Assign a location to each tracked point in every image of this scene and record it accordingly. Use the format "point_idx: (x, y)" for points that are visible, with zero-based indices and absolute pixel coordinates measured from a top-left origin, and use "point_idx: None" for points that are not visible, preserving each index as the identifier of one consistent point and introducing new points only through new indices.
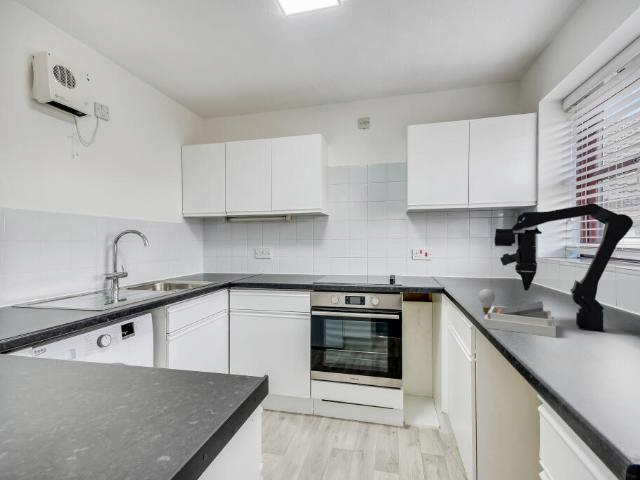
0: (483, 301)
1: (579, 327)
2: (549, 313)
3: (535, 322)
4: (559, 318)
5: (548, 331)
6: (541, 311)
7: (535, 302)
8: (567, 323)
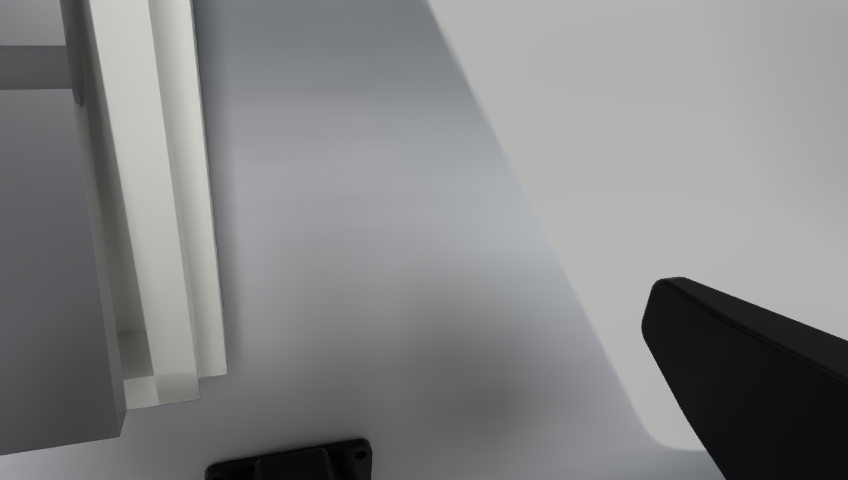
0: None
1: (207, 475)
2: None
3: None
4: (559, 316)
5: None
6: (147, 319)
7: (92, 346)
8: (386, 380)
